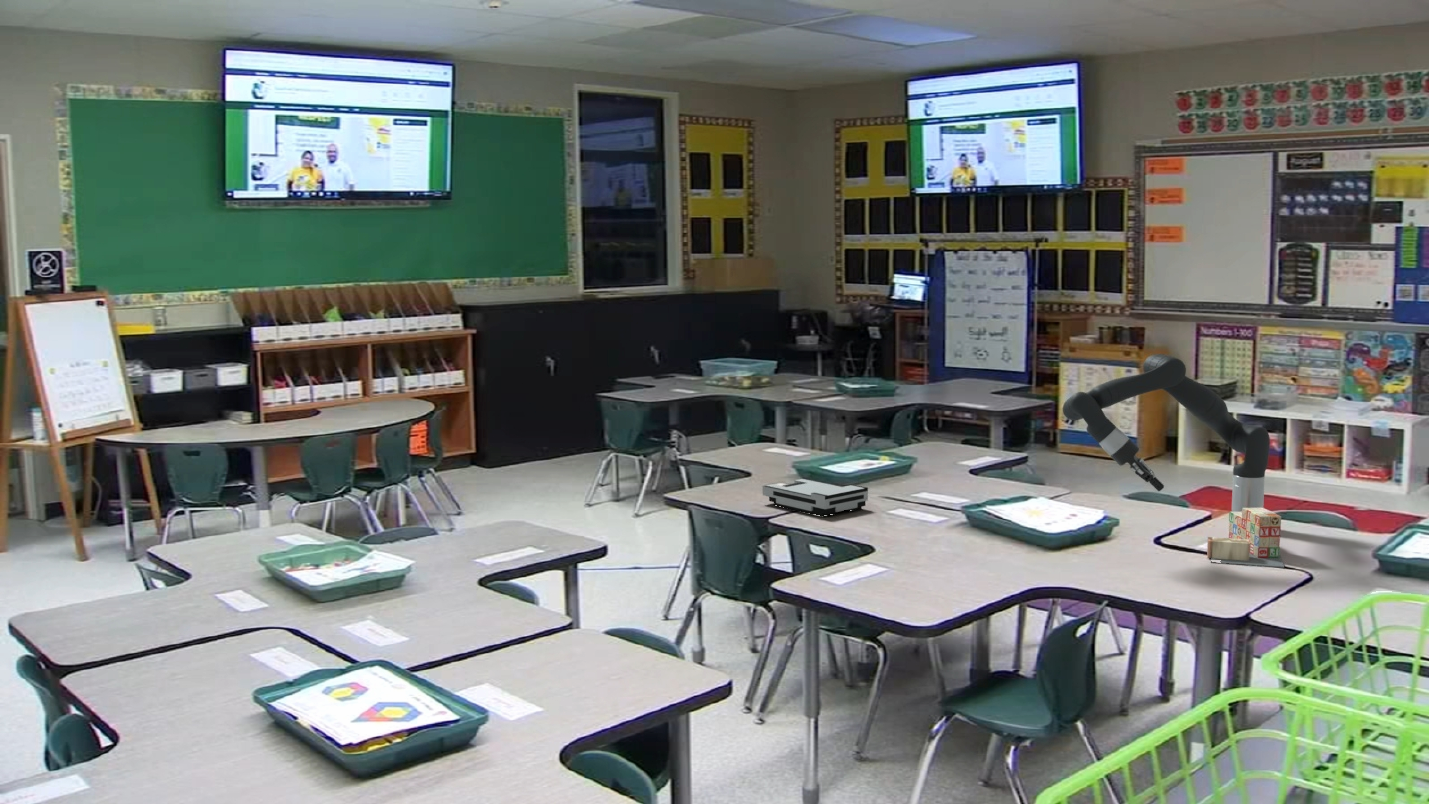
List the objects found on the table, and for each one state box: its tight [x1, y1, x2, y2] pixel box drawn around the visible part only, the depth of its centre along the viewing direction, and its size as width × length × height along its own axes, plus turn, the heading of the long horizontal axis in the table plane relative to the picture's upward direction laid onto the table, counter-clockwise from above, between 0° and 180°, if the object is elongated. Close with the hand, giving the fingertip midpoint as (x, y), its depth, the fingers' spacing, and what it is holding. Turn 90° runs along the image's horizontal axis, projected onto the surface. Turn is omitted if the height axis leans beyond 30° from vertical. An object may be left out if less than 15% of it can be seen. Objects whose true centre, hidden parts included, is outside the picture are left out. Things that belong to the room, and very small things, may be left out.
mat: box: [1210, 552, 1285, 569], centre depth 348 cm, size 13×19×1 cm
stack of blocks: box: [1228, 507, 1282, 557], centre depth 358 cm, size 21×6×12 cm, turn 179°
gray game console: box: [762, 477, 869, 516], centre depth 427 cm, size 21×32×8 cm, turn 39°
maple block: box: [1206, 536, 1250, 561], centre depth 349 cm, size 5×5×11 cm
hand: (1161, 488), depth 353 cm, fingers closed
